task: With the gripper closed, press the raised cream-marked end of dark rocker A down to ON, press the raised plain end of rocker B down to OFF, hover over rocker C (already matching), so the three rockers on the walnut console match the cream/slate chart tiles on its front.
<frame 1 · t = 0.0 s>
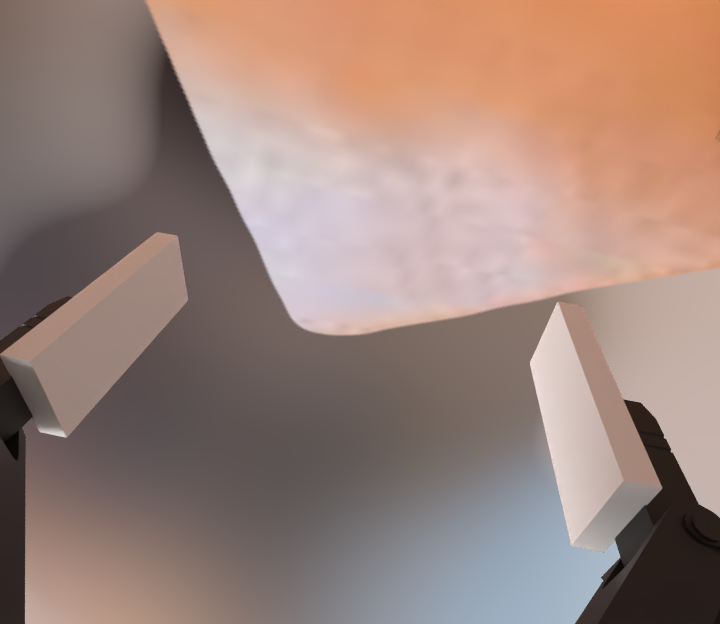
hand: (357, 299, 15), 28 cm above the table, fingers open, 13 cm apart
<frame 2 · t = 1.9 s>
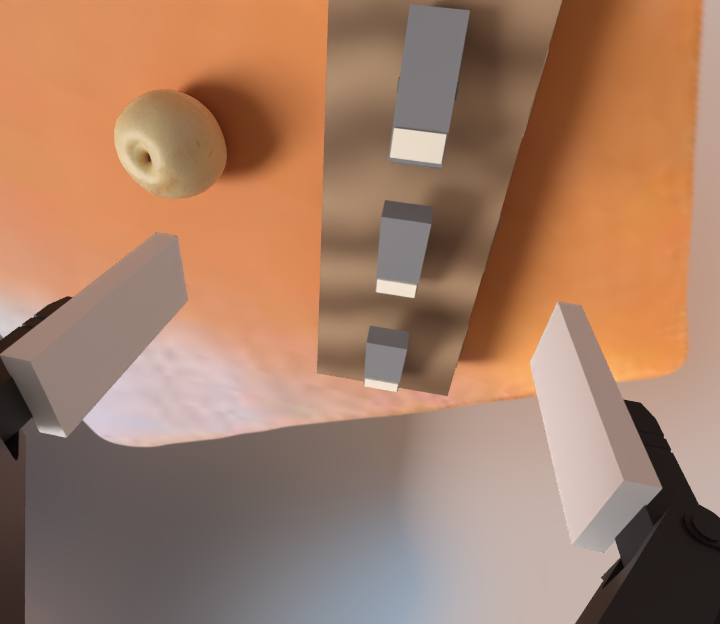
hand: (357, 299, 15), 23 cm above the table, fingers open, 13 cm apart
rocker C: (384, 361, 37), point 8 cm above the table, hinge at 20.0°
rocker A: (426, 92, 25), point 8 cm above the table, hinge at -20.0°
console: (408, 212, 37), on the table
apple: (193, 135, 37), on the table
rocker B: (401, 254, 31), point 8 cm above the table, hinge at 20.0°
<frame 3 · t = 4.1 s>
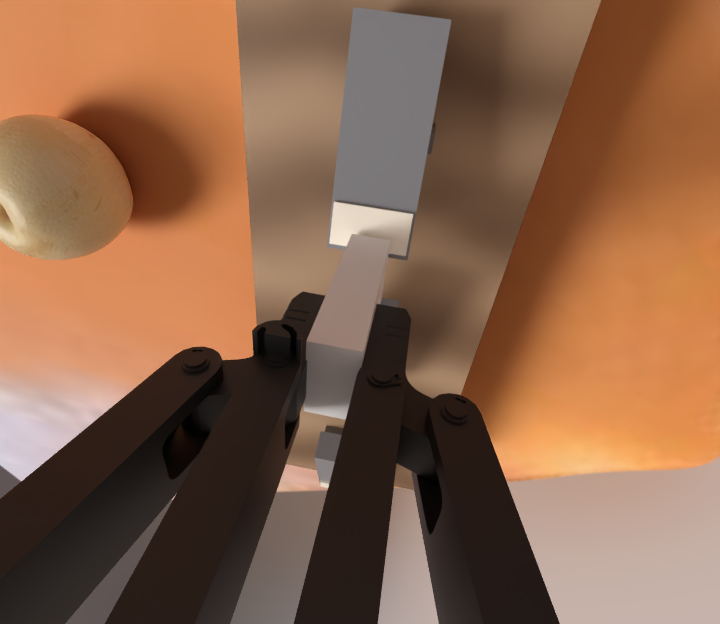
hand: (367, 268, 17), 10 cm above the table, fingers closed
rocker C: (343, 466, 29), point 8 cm above the table, hinge at 20.0°
rocker A: (384, 145, 16), point 8 cm above the table, hinge at -15.8°, touching gripper
console: (377, 274, 29), on the table
apple: (91, 170, 28), on the table
rocker B: (358, 352, 23), point 8 cm above the table, hinge at 20.0°
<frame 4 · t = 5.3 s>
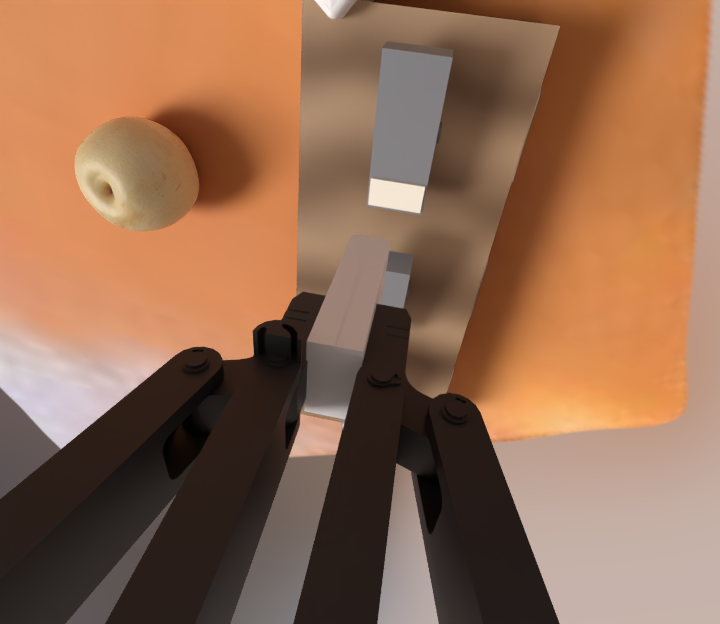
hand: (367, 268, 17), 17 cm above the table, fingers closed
rocker C: (363, 407, 35), point 8 cm above the table, hinge at 20.0°
rocker A: (405, 136, 23), point 8 cm above the table, hinge at 7.1°
console: (392, 249, 35), on the table
apple: (165, 162, 35), on the table
rocker B: (379, 300, 29), point 8 cm above the table, hinge at 20.0°
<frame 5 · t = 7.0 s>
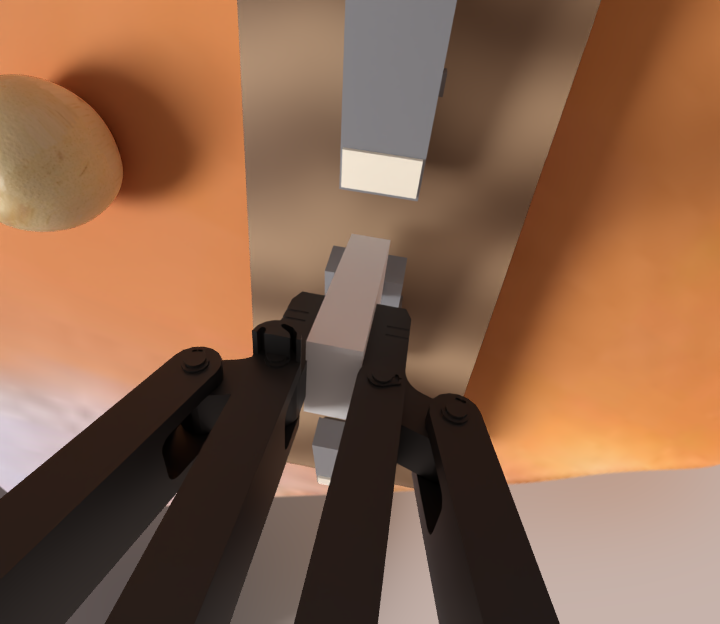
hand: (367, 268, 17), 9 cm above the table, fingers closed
rocker C: (342, 459, 27), point 8 cm above the table, hinge at 20.0°
rocker A: (392, 83, 15), point 8 cm above the table, hinge at 13.7°
console: (379, 253, 27), on the table
apple: (80, 142, 26), on the table
rocker B: (360, 325, 21), point 8 cm above the table, hinge at 14.3°, touching gripper
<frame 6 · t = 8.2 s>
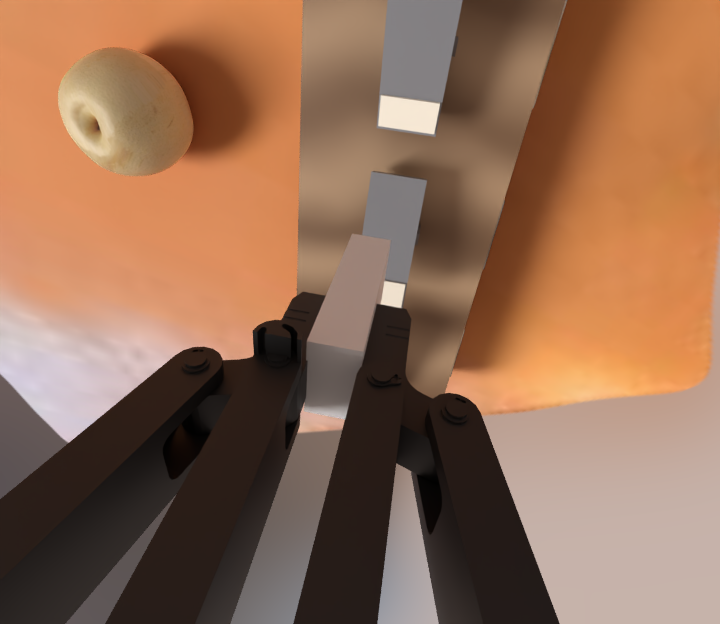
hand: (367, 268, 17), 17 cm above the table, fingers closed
rocker A: (419, 44, 21), point 8 cm above the table, hinge at 14.7°
console: (400, 199, 33), on the table
apple: (157, 106, 32), on the table
rocker B: (388, 242, 27), point 8 cm above the table, hinge at -14.6°
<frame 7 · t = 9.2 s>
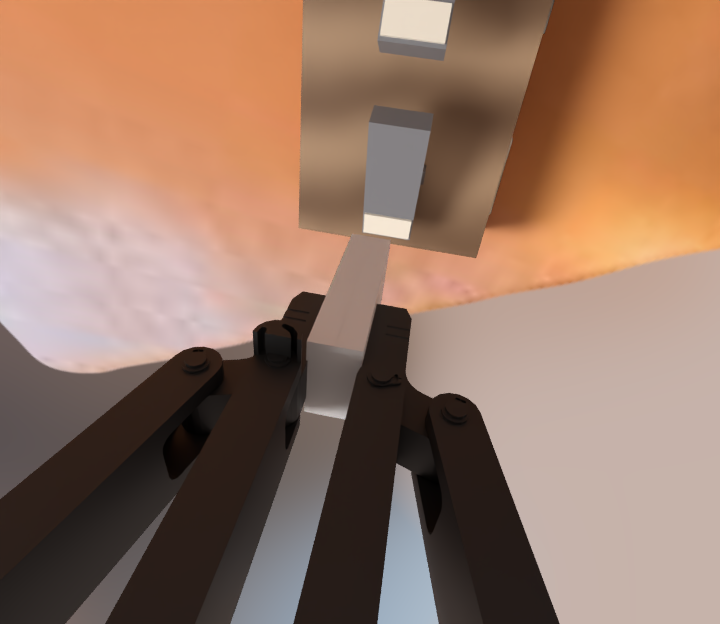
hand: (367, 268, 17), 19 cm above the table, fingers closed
rocker C: (393, 180, 26), point 8 cm above the table, hinge at 20.0°
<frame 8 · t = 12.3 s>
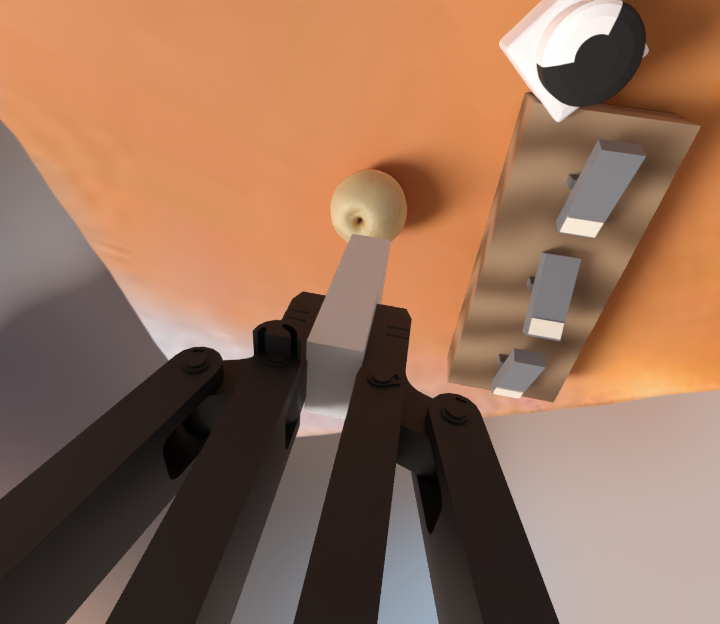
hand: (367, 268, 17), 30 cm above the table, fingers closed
rocker C: (516, 375, 48), point 8 cm above the table, hinge at 20.0°
rocker A: (596, 192, 36), point 8 cm above the table, hinge at 15.2°
console: (537, 259, 48), on the table
apple: (373, 197, 47), on the table
medicine bottle: (557, 43, 37), on the table, touching console
rocker B: (550, 296, 42), point 8 cm above the table, hinge at -25.8°
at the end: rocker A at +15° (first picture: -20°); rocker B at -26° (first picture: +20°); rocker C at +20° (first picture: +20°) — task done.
